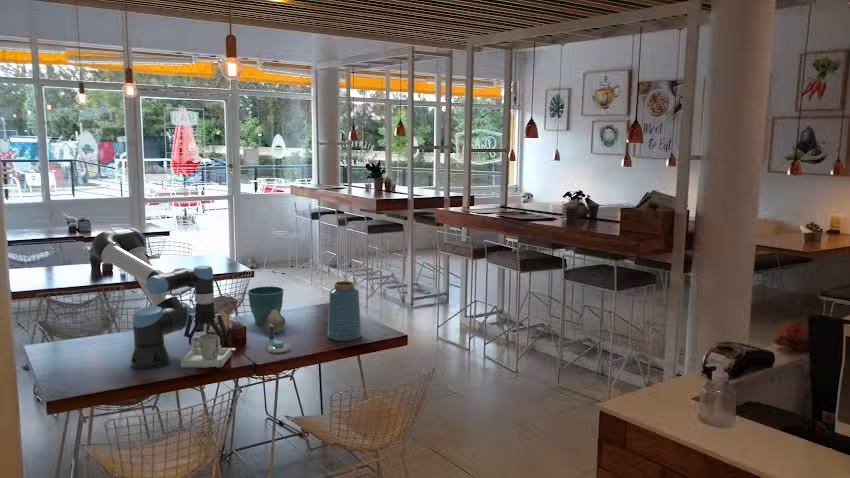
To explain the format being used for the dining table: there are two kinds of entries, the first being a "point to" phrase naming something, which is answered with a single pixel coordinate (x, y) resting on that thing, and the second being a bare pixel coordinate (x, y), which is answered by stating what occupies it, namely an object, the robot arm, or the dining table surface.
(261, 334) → the dining table surface
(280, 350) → the pedestal
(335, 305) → the vase
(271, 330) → the crank
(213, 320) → the robot arm
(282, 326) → the fruit
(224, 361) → the tray
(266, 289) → the flower pot
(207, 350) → the mug
